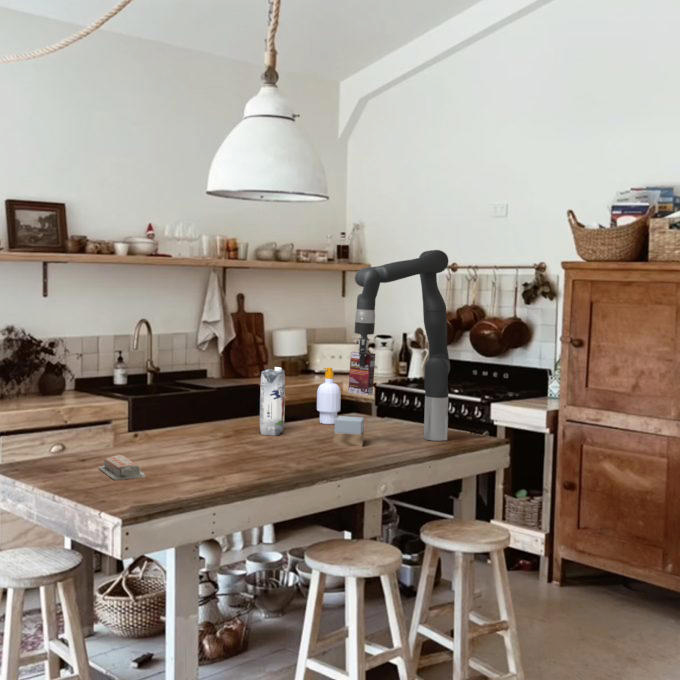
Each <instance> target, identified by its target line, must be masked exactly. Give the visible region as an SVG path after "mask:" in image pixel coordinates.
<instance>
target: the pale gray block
mask: <svg viewBox="0 0 680 680" xmlns="http://www.w3.org/2000/svg"><path fill="white" fill-rule="evenodd" d="M334 431H335V432H333V434H334V433H341V434H359V435H361V433H362V432H363V431H365V417H363V416H346V415H345V416H344V415H339V416H338V415H337V418H336V419H335V424H334Z"/></svg>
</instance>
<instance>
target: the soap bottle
mask: <svg viewBox="0 0 680 680" xmlns="http://www.w3.org/2000/svg"><path fill="white" fill-rule="evenodd" d="M322 370H326V371H325V372H324V376H325V377H324V382H323V383H321V384H320V385H318V388H317V392H316V410H317V411H318V412H319V423H320V424H321V423H322V424H321V425H335V419H336V418H337V417H338V413H339V412H341V399H342V396H341V394H342V392H341V388H340V387H339V385H338V384H337V383H334V371H333V368H332V367H323V368H322Z"/></svg>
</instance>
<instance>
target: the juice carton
mask: <svg viewBox="0 0 680 680" xmlns="http://www.w3.org/2000/svg"><path fill="white" fill-rule="evenodd" d="M285 374H286V373H285V369H283V368H282V367H280V366H279V367H278V366H274V369H273V368H272V369H271V368H270V369H267V368H266V369H265V370H262V371H261V374H260V386H259V387H260V389H259V390H260V391H259V392H260V395H259V397H260V398H259V429H260V430H259V431H260V434H261V435H262V436H280V434H282V432H283V431H284V427H285V412H286V411H285V408H286V407H285V405H286V404H285V403H286V401H285V400H286V376H285Z"/></svg>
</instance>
